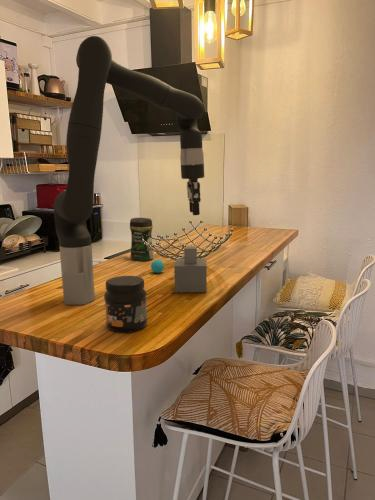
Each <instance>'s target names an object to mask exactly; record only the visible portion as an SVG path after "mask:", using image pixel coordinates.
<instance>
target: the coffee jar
mask: <svg viewBox="0 0 375 500" xmlns="http://www.w3.org/2000/svg"><path fill="white" fill-rule="evenodd" d="M153 226H154V225H153V220H152V219H151V218H149V217H133V218H131V219H130V221H129V229H130V232H131V243H130V244H131V246H130V259H131V260H133V261H138V262H149V261H152V260H153V258H154V250H153V251H152V250H151V249H150V248H149V247H148V246H146V245H145V244H144V242H143V240H142V238H143V239H144V240H145V241H147V242H148V243H150V244H152V245H153V239H151V238H152V232H153V228H154V227H153ZM142 233H143V234H142ZM144 234H145V235H144ZM146 235H147V236H146ZM149 237H150V238H149Z"/></svg>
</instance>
